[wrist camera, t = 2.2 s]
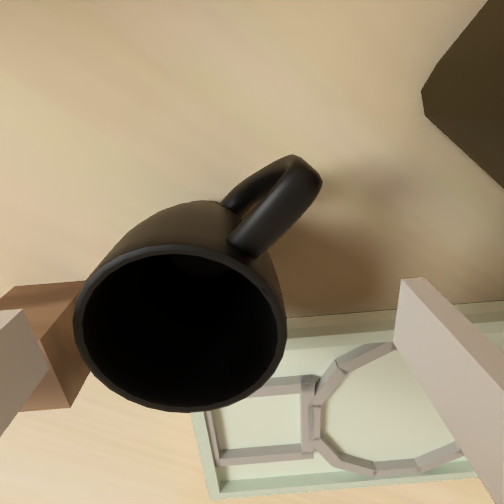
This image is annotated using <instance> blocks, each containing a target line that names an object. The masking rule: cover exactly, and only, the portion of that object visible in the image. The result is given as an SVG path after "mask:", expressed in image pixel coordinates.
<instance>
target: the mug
mask: <svg viewBox="0 0 504 504" xmlns="http://www.w3.org/2000/svg"><path fill="white" fill-rule="evenodd" d="M322 184H323V181H322V179H321V177H320V175H319V173H318V172H317V171H316V170H314V169H313V168H312V167H311V166H310V165H309V164H308V163H307V162H306V161H304V160H303V159H302V158H300V157H298V156H296V155H288V156H285V157H283V158H281V159H279V160H277V161H275V162H273V163H271V164H269V165H268V166H266V167H264V168H263V169H261V170H259V171H258V172H256V173H254V174H253V175H251V176H250V177H248V178H247V179H245V180H244V181H242V182H241V183H240V184H238V185H237V186H236V187H235V188H234V189H233V190H232V191H231V192H230V193H229V194H228V195H227V196H226V197H225V198H224V199H223V201H222V202H221V203H220V204H219V203H216V202H212V201H204V200H202V201H192V202H189V203H183V204H179V205H176V206H173V207H170V208H167V209H164V210H162V211H160V212H158V213H156V214H154V215H152V216H151V217H149V218H148V219H146V220H144V221H143V222H141V223H140V224H138V225H137V226H135V227H134V228H133V229H131V230H130V231H129V232H128V233H127V234H126V235H125V236H124V237H123V238H122V239H121V240H120V241H119V242H118V243H117V244H116V245H115V247H114V248H113V249H112V250H111V251H110V252H109V253H108V255H107V256H106V257H105V258H104V259H103V260H102V262H101V263H100V264H99V265H98V266H97V268H96V269H95V270H94V271H93V272H92V274H91V275H90V276H89V277H88V278H87V280H86V281H85V283H84V285H83V287H82V289H81V291H80V293H79V295H78V297H77V299H76V302H75V308H74V314H73V320H72V322H73V333H74V341H75V344H76V346H77V348H78V351H79V353H80V355H81V358H82V360H83V361H84V363H85V364H86V365H87V367H88V368H89V369H90V371H91V372H92V373H93V375H94V376H95V377H96V378H98V379H99V380H100V381H101V382H102V383H103V384H104V385H105V386H107V387H108V388H109V389H110V390H112V391H114V392H115V393H117V394H119V395H120V396H122V397H124V398H125V399H127V400H129V401H132V402H135V403H137V404H140V405H142V406H145V407H148V408H152V409H157V410H162V411H167V412H180V413H194V412H204V411H211V410H215V409H219V408H223V407H227V406H230V405H232V404H234V403H236V402H238V401H241V400H243V399H245V398H247V397H248V396H250V395H251V394H253V393H254V392H255V391H257V390H258V389H260V388H261V387H262V386H263V385H264V384H265V383H266V382H267V381H268V380H269V378H270V377H271V376H272V375H273V374H274V373H275V371H276V369H277V367H278V365H279V363H280V362H281V360H282V358H283V355H284V351H285V346H286V342H287V338H288V332H287V317H286V312H285V308H284V303H283V298H282V294H281V289H280V285H279V281H278V278H277V275H276V272H275V269H274V266H273V263H272V260H271V258H270V256H269V254H268V252H267V249H268V248H269V247H270V246H272V245H273V244H274V243H275V242H276V241H277V240H278V239H279V238H280V237H281V236H282V235H283V234H284V233H285V232H286V231H287V230H288V229H289V228H290V227H291V226H292V225H293V224H294V223H295V222H296V221H297V220H298V219H299V218H300V217H301V215H302V214H303V213H304V212H305V211H306V210H307V209H308V207H309V206H310V205H311V204H312V202H313V201H314V200H315V198H316V197H317V195H318V193H319V191H320V189H321V187H322ZM260 200H261V201H260ZM258 201H260V203H259V204H258V205H257V206H256V207H255V208H254V209H253V210H252V211H251V213H250V214H249V215H248V216H247V217H246V218H245V219H244V220H242V219H241V217H242V215H243V214H244V213H245V212H246V211H247V210H248V209H249V208H250V207H251V206H253V205H254V204H255V203H257V202H258Z"/></svg>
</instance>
